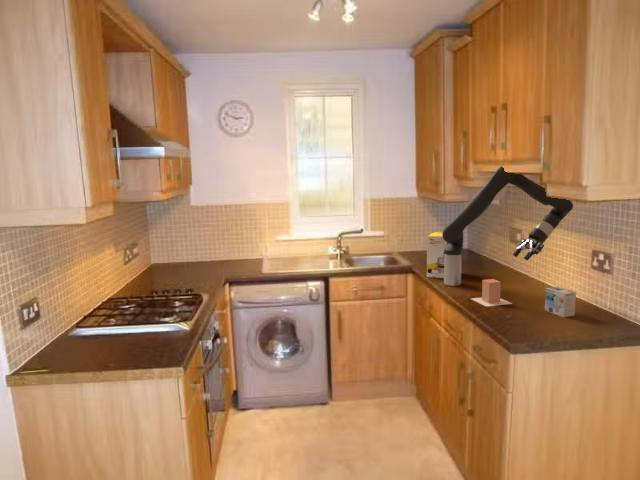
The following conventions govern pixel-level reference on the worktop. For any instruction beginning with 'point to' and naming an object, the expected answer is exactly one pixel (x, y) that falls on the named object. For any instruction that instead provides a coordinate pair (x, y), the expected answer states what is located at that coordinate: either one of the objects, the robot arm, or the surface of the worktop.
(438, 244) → the packaging box
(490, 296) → the terracotta block
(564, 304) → the light bulb box
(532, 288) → the worktop surface
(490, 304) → the cream square pad
